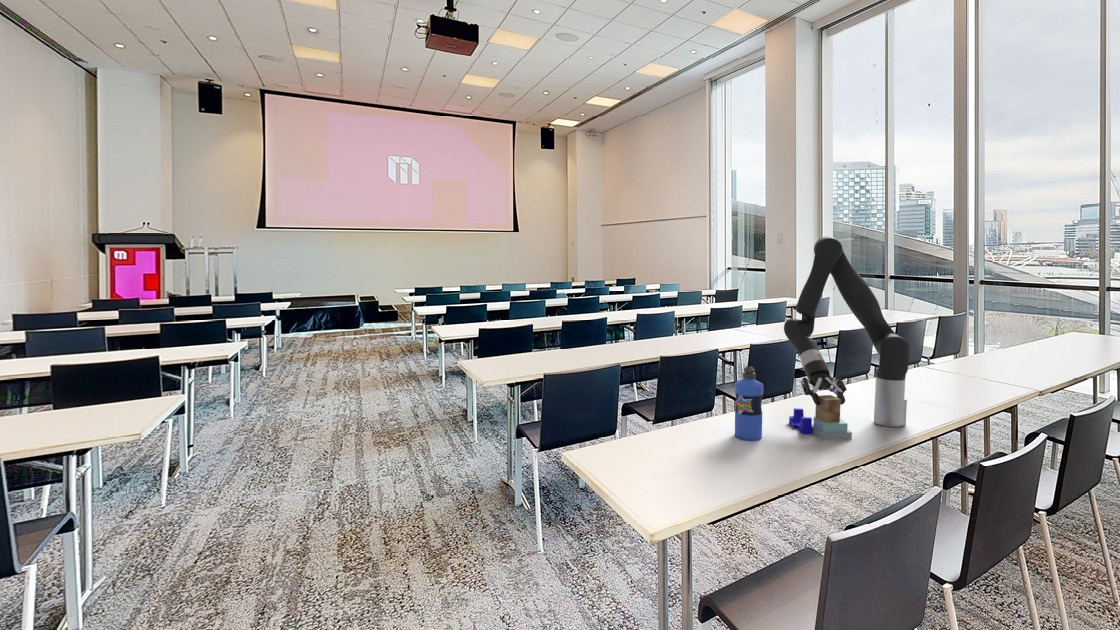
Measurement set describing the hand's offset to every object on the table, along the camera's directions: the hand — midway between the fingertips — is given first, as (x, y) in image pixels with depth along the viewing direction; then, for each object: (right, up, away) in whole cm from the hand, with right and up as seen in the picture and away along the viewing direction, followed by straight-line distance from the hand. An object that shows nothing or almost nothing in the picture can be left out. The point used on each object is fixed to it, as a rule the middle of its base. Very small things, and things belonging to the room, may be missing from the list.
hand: (831, 404), depth 183 cm
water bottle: (-28, -12, +3) cm, 30 cm away
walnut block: (0, -6, +2) cm, 6 cm away
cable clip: (-7, -11, +9) cm, 16 cm away
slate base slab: (+1, -12, +2) cm, 12 cm away
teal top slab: (+1, -9, +2) cm, 9 cm away
